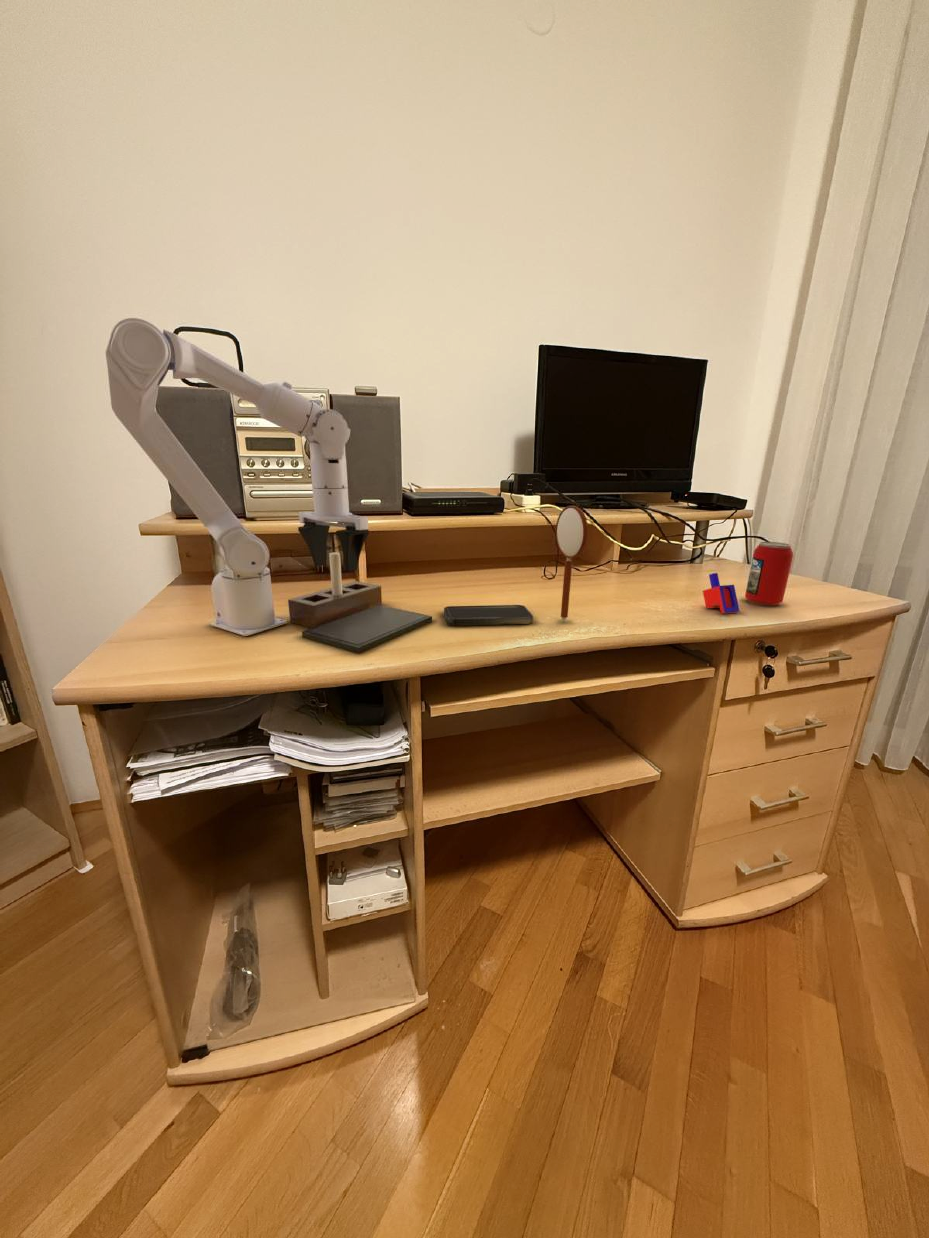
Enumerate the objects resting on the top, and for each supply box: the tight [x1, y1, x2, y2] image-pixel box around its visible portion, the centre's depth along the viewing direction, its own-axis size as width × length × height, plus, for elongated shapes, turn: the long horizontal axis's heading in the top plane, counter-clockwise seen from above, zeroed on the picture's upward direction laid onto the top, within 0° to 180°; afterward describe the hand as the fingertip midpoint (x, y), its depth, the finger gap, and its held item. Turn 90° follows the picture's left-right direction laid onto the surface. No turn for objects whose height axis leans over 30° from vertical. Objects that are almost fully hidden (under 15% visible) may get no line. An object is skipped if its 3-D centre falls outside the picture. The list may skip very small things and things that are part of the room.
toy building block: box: [702, 572, 740, 615], centre depth 94 cm, size 4×4×8 cm
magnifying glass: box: [555, 505, 589, 623], centre depth 83 cm, size 9×2×20 cm, turn 21°
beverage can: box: [744, 541, 794, 607], centre depth 98 cm, size 7×7×12 cm
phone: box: [443, 604, 534, 626], centre depth 87 cm, size 8×1×15 cm
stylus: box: [328, 551, 343, 596], centre depth 87 cm, size 2×2×11 cm
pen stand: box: [287, 580, 383, 629], centre depth 88 cm, size 6×16×4 cm, turn 148°
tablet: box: [301, 604, 433, 655], centre depth 80 cm, size 12×18×1 cm, turn 148°
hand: (335, 568), depth 86 cm, fingers open, 7 cm apart
